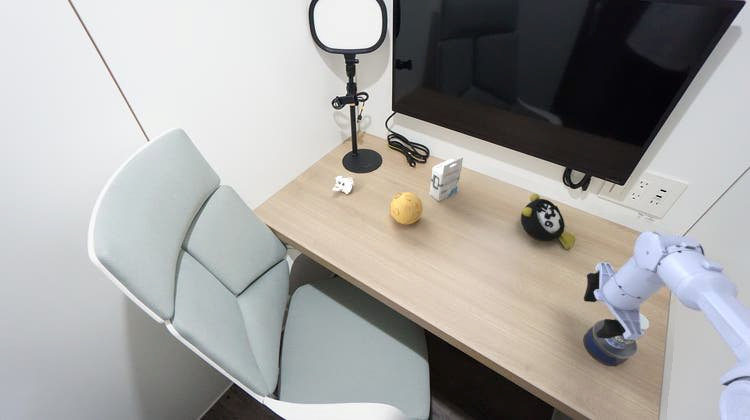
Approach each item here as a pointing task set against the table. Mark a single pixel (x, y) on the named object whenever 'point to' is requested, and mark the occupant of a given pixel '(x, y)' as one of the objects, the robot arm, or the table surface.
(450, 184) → the ink box
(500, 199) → the table surface
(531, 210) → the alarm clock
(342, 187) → the anatomical pelvis
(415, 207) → the stress ball
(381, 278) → the table surface
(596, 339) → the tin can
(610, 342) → the pill bottle
